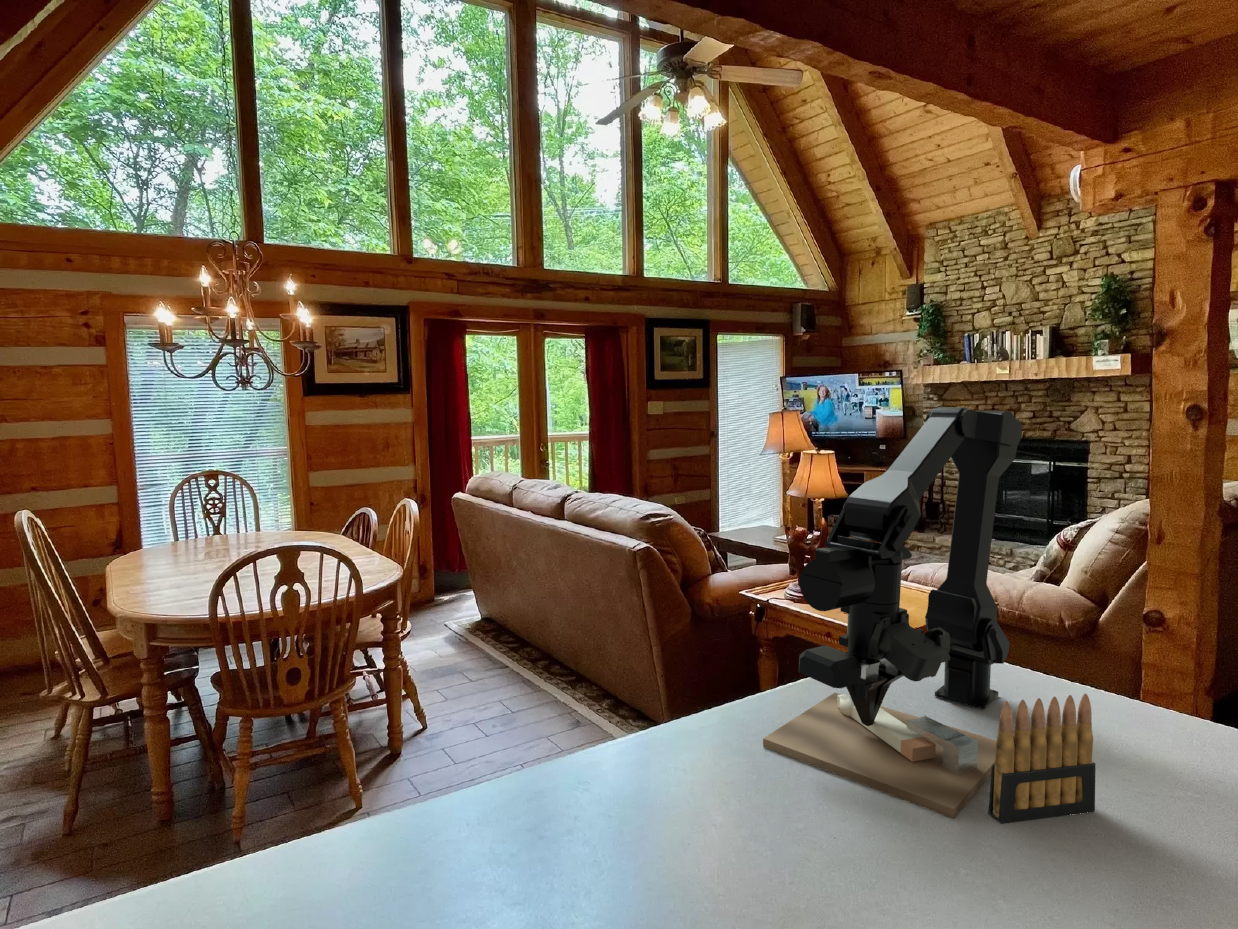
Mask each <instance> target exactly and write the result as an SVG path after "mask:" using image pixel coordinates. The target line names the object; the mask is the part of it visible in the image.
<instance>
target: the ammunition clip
mask: <svg viewBox="0 0 1238 929" xmlns="http://www.w3.org/2000/svg"><path fill="white" fill-rule="evenodd" d="M1078 705H1079V706H1078V709H1076V708H1077V707H1076V704H1075V701H1074V698H1073V696H1072V695H1071V694H1069V695H1068V696H1067V697H1066V700H1065V702H1064V705H1063V710H1062V715H1061V707H1060V703H1059V700H1058V698H1057V697H1056V696H1053V697H1052V698H1051V700H1050V702H1049V704H1048V710H1047V714H1045V713H1046V712H1045V707H1044V703H1043V701H1042V699H1041V698H1040V697H1037V699H1036V701H1035V703H1034V705H1033V708H1032V714H1031V720H1030V715H1029V709H1028V705H1027V703H1026V700H1025V699H1022V700H1020V702H1019V704H1018V706H1017V710H1016V713H1015V714H1016V715H1015V722H1014V721H1013V718H1014V717H1013V712H1012V707H1011V705H1010V702H1009V701H1008V700H1006V701H1004V703H1003V705H1002V708H1001V710H1000V715H999V720H998V730H997V731H998V732H997V736H996V739H995V740H996V751H995V765H992V769H991V775H990V781H989V782H990V786H989V798H988V809H987V814H988V815H989V816H991V817H992V818H993V819H995V821H997V822H998V823H999V824H1000V825H1003V824H1004V825H1005V824H1013V823H1019V822H1027V821H1036V820H1045V819H1051V818H1052V819H1053V818H1059V817H1066V816H1067V815H1068V816H1073V815H1072V814H1076V815H1082V813H1084V814H1089V813H1090V812H1091V813H1095V810H1096V767H1097V766H1096V763H1095V762H1093V752H1094V751H1093V750H1094V735H1093V724H1092V721H1093V720H1092V717H1093V716H1092V706H1091V701H1090V698H1089V696H1088V694H1087V693H1083V695H1082V697H1081V699H1080V702H1079V704H1078ZM1076 710H1077V711H1076ZM1013 724H1014V725H1015V726H1014V725H1013ZM1087 812H1088V813H1087ZM1080 813H1081V814H1080ZM1070 814H1071V815H1070ZM1068 816H1067V817H1068Z"/></svg>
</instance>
